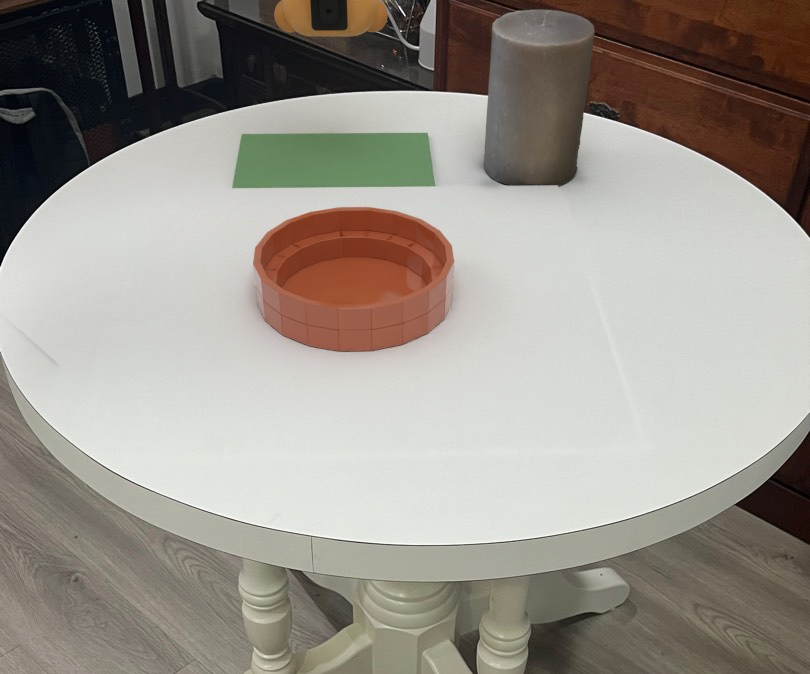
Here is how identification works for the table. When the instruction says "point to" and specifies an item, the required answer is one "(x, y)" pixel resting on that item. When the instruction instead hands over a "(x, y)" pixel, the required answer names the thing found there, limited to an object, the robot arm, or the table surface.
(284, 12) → the croissant
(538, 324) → the table surface
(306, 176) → the cloth
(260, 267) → the terracotta round dish
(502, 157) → the pillar candle
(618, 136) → the table surface
